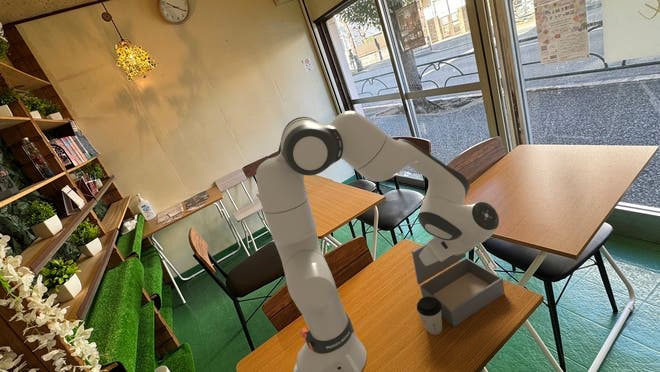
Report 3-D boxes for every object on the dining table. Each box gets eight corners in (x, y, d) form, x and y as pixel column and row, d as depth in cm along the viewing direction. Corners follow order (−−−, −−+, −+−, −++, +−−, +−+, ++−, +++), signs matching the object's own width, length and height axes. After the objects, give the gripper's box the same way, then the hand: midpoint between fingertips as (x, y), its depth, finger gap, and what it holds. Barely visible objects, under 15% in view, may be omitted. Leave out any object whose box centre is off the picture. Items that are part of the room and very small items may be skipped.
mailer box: (454, 327, 90) (450, 311, 88) (423, 300, 102) (419, 286, 100) (504, 293, 95) (502, 278, 93) (469, 271, 107) (466, 257, 105)
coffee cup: (448, 321, 92) (442, 295, 89) (444, 340, 87) (437, 314, 83) (425, 316, 96) (419, 292, 93) (419, 335, 91) (412, 309, 87)
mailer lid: (413, 252, 94) (411, 251, 95) (418, 284, 101) (417, 283, 101) (463, 224, 99) (462, 223, 100) (465, 256, 106) (464, 255, 106)
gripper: (480, 212, 90) (461, 228, 102) (423, 243, 85) (410, 256, 97) (495, 230, 88) (473, 245, 100) (437, 263, 83) (422, 274, 95)
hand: (442, 251), depth 98 cm, fingers closed, pressing on mailer lid
